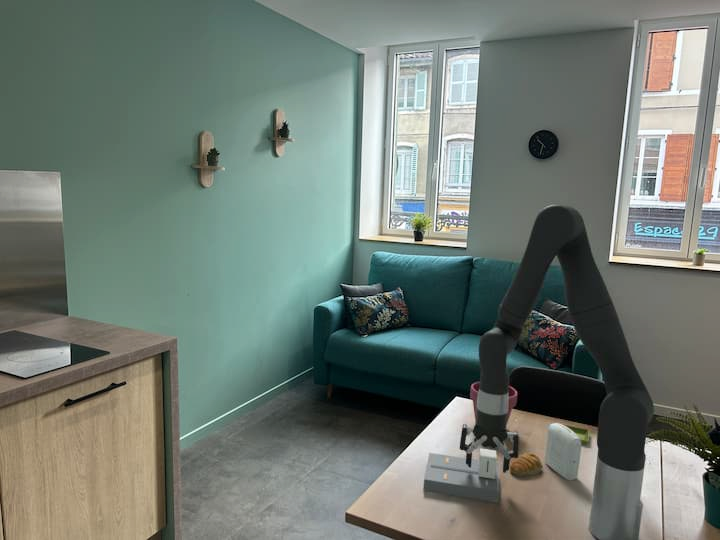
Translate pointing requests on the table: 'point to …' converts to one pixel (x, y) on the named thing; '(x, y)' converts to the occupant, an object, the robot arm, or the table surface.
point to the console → (459, 478)
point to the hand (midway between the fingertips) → (486, 468)
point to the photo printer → (563, 451)
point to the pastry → (526, 465)
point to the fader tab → (487, 463)
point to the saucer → (580, 433)
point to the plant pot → (511, 394)
